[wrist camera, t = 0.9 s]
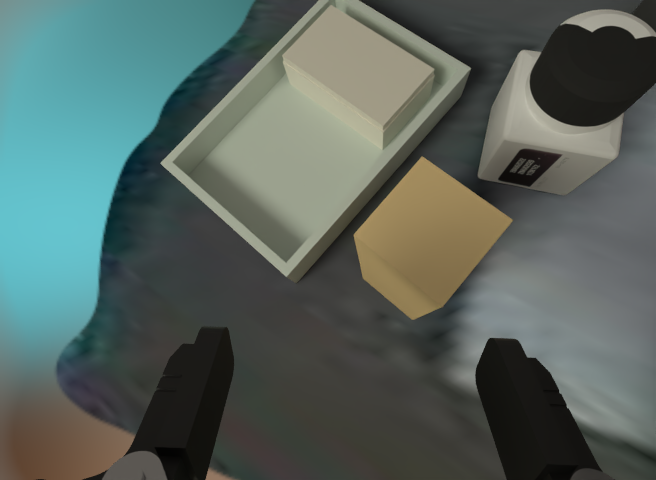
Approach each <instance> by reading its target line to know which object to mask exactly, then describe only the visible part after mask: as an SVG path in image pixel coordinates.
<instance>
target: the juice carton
mask: <svg viewBox="0 0 656 480" xmlns="http://www.w3.org/2000/svg"><path fill="white" fill-rule="evenodd" d="M512 221H513V220H512V219H511V218H509V217H508V216H507V215H505V214H504V213H502V212H501V211H499V210H498V209H497V208H495V207H494V206H492V205H491V204H489V203H488V202H487V201H485V200H484V199H482V198H481V197H479V196H478V195H477V194H475V193H474V192H472V191H471V190H469V189H468V188H467V187H465V186H464V185H462V184H461V183H459V182H458V181H457V180H455V179H454V178H452V177H451V176H449V175H448V174H447V173H445V172H444V171H442V170H441V169H439V168H438V167H437V166H435V165H434V164H432V163H431V162H429V161H428V160H427V159H425V158H424V157H421V158H420V159H419V161H418V162H417V163H416V164H415V165H414V166H413V167H412V169H411V170H410V171H409V172H408V173H407V174H406V175H405V177H404V178H403V179H402V180H401V181H400V182H399V183H398V185H397V186H396V187H395V188H394V189H393V190H392V191H391V193H390V194H389V195H388V196H387V197H386V198H385V199H384V201H383V202H382V203H381V204H380V205H379V206H378V207H377V209H376V210H375V211H374V212H373V213H372V214H371V215H370V217H369V218H368V219H367V220H366V221H365V222H364V223H363V225H362V226H361V227H360V228H359V229H358V230H357V231H356V233H355V234H354V238H355V243H356V248H357V252H358V257H359V262H360V266H361V271H362V276H363V279H364V280H366V281H367V282H368V283H369V284H370V285H372V286H373V287H374V288H375V289H376V290H377V291H379V292H380V293H381V294H382V295H383V296H385V297H386V298H387V299H388V300H389V301H391V302H392V303H393V304H394V305H395V306H396V307H398V308H399V309H400V310H401V311H402V312H404V313H405V314H406V315H407V316H408V317H410V318H411V319H412V320H414V319H416V318H418V317H421V316H423V315H425V314H427V313H430V312H432V311H434V310H436V309H439V308H441V307H443V306H444V304H445V303H446V302H447V301H448V299H449V298H450V297H451V296H452V295H453V293H454V292H455V291H456V290H457V288H458V287H459V286H460V285H461V284H462V282H463V281H464V280H465V279H466V277H467V276H468V275H469V274H470V273H471V271H472V270H473V269H474V268H475V266H476V265H477V264H478V263H479V262H480V260H481V259H482V258H483V257H484V255H485V254H486V253H487V252H488V251H489V249H490V248H491V247H492V246H493V244H494V243H495V242H496V241H497V240H498V238H499V237H500V236H501V235H502V233H503V232H504V231H505V230H506V229H507V227H508V226H509V225H510V224H511V222H512Z"/></svg>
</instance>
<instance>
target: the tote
mask: <svg viewBox="0 0 656 480" xmlns="http://www.w3.org/2000/svg"><path fill="white" fill-rule="evenodd" d="M330 5H332V6H334V7H335V8H337V9H339V10H340V11H342V12H344V13H345V14H347V15H348V16H350V17H352V18H353V19H355V20H356V21H358V22H360V23H361V24H363V25H364V26H366V27H368V28H369V29H371V30H372V31H374V32H376V33H377V34H379V35H381V36H382V37H384V38H385V39H387V40H389V41H390V42H392V43H393V44H395V45H397V46H398V47H400V48H401V49H403V50H405V51H406V52H408V53H410V54H411V55H413V56H414V57H416V58H418V59H419V60H421V61H422V62H424V63H426V64H427V65H429V66H430V67H432V68H434V73H433V74H434V75H435V76H434V81H433V85H432V89H431V94H430V98H429V99H428V100H427V101H426V102H425V103H424V104H423V105H422V107H421V108H420V109H419V110H418V111H417V112H416V113H415V114H414V116H413V117H412V118H411V119H410V120H409V121H408V122H407V123H406V125H405V126H404V127H403V128H402V129H401V130H400V131H399V132H398V133H397V135H396V136H395V137H394V138H393V139H392V140H391V141H390V142H389V144H388V145H387V146H386V147H385V148H384V149H383V150H381V149H380V148H379V147H377V146H376V145H374V144H373V143H372V142H370V141H369V140H367V139H366V138H365V137H363V136H362V135H360V134H359V133H358V132H356V131H355V130H354V129H352V128H351V127H349V126H348V125H347V124H345V123H344V122H342V121H341V120H340V119H338V118H337V117H335V116H334V115H333V114H331V113H330V112H328V111H327V110H326V109H324V108H323V107H322V106H320V105H319V104H317V103H316V102H315V101H313V100H312V99H310V98H309V97H308V96H306V95H305V94H303V93H302V92H301V91H299V90H298V89H296V88H295V87H294V86H292V85H291V84H290V82H289V79H288V76H287V73H286V71H285V68H284V65H283V61H284V60H283V57H282V55H283V54H284V53H285V52H286V51H287V50H288V49H289V48H290V47H291V46H292V45H293V44H294V43H295V42H296V41H297V39H298V38H299V37H300V36H301V35H302V34H303V33H304V32H305V31H306V30H307V29H308V28H309V27H310V26H311V25H312V24H313V23H314V22H315V21H316V20H317V19H318V18H319V17H320V16H321V15H322V14H323V13H324V12H325V11H326V9H327V8H328V7H329V6H330ZM470 70H471V68H470V67H468V66H467V65H465V64H463V63H462V62H460V61H458V60H457V59H455V58H453V57H452V56H450V55H448V54H447V53H445V52H443V51H442V50H440V49H439V48H437V47H435V46H434V45H432V44H430V43H429V42H427V41H425V40H424V39H422V38H420V37H419V36H417V35H415V34H414V33H412V32H410V31H409V30H407V29H405V28H404V27H402V26H400V25H399V24H397V23H395V22H394V21H392V20H390V19H389V18H387V17H385V16H384V15H382V14H380V13H379V12H377V11H375V10H374V9H372V8H370V7H369V6H367V5H366V4H364V3H362V2H361V1H359V0H319V1H318V2H317V3H316V4H315V5H314V6H313V7H312V8H311V9H310V10H309V11H308V12H307V13H306V14H305V15H304V16H303V17H302V18H301V19H300V20H299V21H298V22H297V24H296V25H295V26H294V27H293V28H292V29H291V30H290V31H289V32H288V33H287V34H286V35H285V36H284V37H283V38H282V39H281V40H280V41H279V42H278V43H277V44H276V45H275V46H274V47H273V48H272V49H271V50H270V51H269V52H268V53H267V54H266V55H265V56H264V57H263V58H262V59H261V60H260V62H259V63H258V64H257V65H256V66H255V67H254V68H253V69H252V70H251V71H250V72H249V73H248V74H247V75H246V76H245V77H244V78H243V79H242V80H241V81H240V82H239V83H238V84H237V85H236V86H235V87H234V88H233V89H232V90H231V91H230V92H229V93H228V94H227V95H226V96H225V97H224V98H223V100H222V101H221V102H220V103H219V104H218V105H217V106H216V107H215V108H214V109H213V110H212V111H211V112H210V113H209V114H208V115H207V116H206V117H205V118H204V119H203V120H202V121H201V122H200V123H199V124H198V125H197V126H196V127H195V128H194V129H193V130H192V131H191V132H190V133H189V134H188V135H187V136H186V138H185V139H184V140H183V141H182V142H181V143H180V144H179V145H178V146H177V147H176V148H175V149H174V150H173V151H172V152H171V153H170V154H169V155H168V156H167V157H166V158H165V159H164V160H163V161H162V162H161V163H160V164H162V165H163V166H164V167H165V168H166V169H167V170H168V171H169V172H170V173H172V174H173V175H174V176H175V177H176V178H177V179H178V180H179V181H180V182H182V183H183V184H184V185H185V186H186V187H187V188H188V189H189V190H190V191H192V192H193V193H194V194H195V195H196V196H197V197H198V198H199V199H200V200H202V201H203V202H204V203H205V204H206V205H207V206H208V207H209V208H210V209H212V210H213V211H214V212H215V213H216V214H217V215H218V216H219V217H220V218H222V219H223V220H224V221H225V222H226V223H227V224H228V225H229V226H230V227H232V228H233V229H234V230H235V231H236V232H237V233H238V234H239V235H240V236H242V237H243V238H244V239H245V240H246V241H247V242H248V243H249V244H250V245H252V246H253V247H254V248H255V249H256V250H257V251H258V252H259V253H260V254H262V255H263V256H264V257H265V258H266V259H267V260H268V261H269V262H270V263H272V264H273V265H274V266H275V267H276V268H277V269H278V270H279V271H281V272H282V273H283V274H284V275H285V276H286V277H287V278H289V279H290V280H292V281H293V282H295V283H296V284H297V282H298V281H299V280H300V279H301V278H302V277H303V276H304V274H305V273H306V272H307V271H308V270H309V269H310V268H311V266H312V265H313V264H314V263H315V262H316V261H317V260H318V259H319V257H320V256H321V255H322V254H323V253H324V252H325V251H326V249H327V248H328V247H329V246H330V245H331V244H332V243H333V241H334V240H335V239H336V238H337V237H338V236H339V235H340V234H341V232H342V231H343V230H344V229H345V228H346V227H347V226H348V224H349V223H350V222H351V221H352V220H353V219H354V218H355V216H356V215H357V214H358V213H359V212H360V211H361V210H362V208H363V207H364V206H365V205H366V204H367V203H368V202H369V201H370V199H371V198H372V197H373V196H374V195H375V194H376V193H377V191H378V190H379V189H380V188H381V187H382V186H383V185H384V183H385V182H386V181H387V180H388V179H389V178H390V177H391V176H392V174H393V173H394V172H395V171H396V170H397V169H398V168H399V166H400V165H401V164H402V163H403V162H404V161H405V160H406V158H407V157H408V156H409V155H410V154H411V153H412V152H413V150H414V149H415V148H416V147H417V146H418V145H419V144H420V143H421V141H422V140H423V139H424V138H425V137H426V136H427V135H428V133H429V132H430V131H431V130H432V129H433V128H434V127H435V125H436V124H437V123H438V122H439V121H440V120H441V119H442V118H443V116H444V115H445V114H446V113H447V112H448V111H449V110H450V108H451V107H452V106H453V105H454V104H455V103H456V102H457V100H458V99H459V98H460V97H461V95H462V93H463V90H464V87H465V84H466V81H467V79H468V76H469V73H470Z"/></svg>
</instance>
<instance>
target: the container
mask: <svg viewBox="0 0 656 480" xmlns="http://www.w3.org/2000/svg"><path fill="white" fill-rule="evenodd" d="M655 83H656V32H655V31H654V30H653V29H652V28H651V27H650V26H649V25H648V24H647V23H645V22H644V21H642V20H641V19H639V18H637V17H635V16H633V15H631V14H628V13H625V12H621V11H616V10H594V11H589V12H585V13H582V14H578V15H576V16H573V17H571V18H569V19H568V20H566V21H564V22H563V23H562V24H561V25H559V27H558V28H557V29H556V30H555V31H554V32H553V34H552V35H551V37H550V39H549V40H548V42H547V44H546V46H545V47H544V49H543V51H542V52H537V51H529V50H522V51H520V52H519V54H518V56H517V58H516V60H515V62H514V64H513V66H512V68H511V70H510V72H509V74H508V76H507V78H506V80H505V82H504V84H503V86H502V87H501V89H500V91H499V93H498V95H497V97H496V99H495V101H494V103H493V105H492V107H491V112H490V117H489V122H488V127H487V131H486V136H485V141H484V146H483V151H482V155H481V160H480V165H479V170H478V177H479V178H480V179H483V180H488V181H493V182H498V183H503V184H508V185H513V186H518V187H523V188H528V189H533V190H538V191H543V192H548V193H553V194H558V195H567V194H568V193H570V192H571V191H573V190H574V189H575V188H577V187H578V186H579V185H581V184H582V183H583V182H585V181H586V180H587V179H589V178H590V177H591V176H593V175H594V174H595V173H597V172H598V171H599V170H601V169H602V168H604V167H605V166H606V165H608V164H609V163H610V162H612V161H613V160H614V159H616V158H617V157H618V155H619V150H620V142H621V134H622V126H623V117H624V112H625V111H626V110H627V109H628V108H629V107H630V106H631V105H632V104H633V103H635V102H636V101H637V100H638V99H639V98H640V97H641V96H642V95H643V94H645V93H646V92H647V91H648V90H649V89H650V88H651V87H652V86H653V85H654V84H655Z"/></svg>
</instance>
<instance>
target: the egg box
mask: <svg viewBox="0 0 656 480" xmlns="http://www.w3.org/2000/svg"><path fill="white" fill-rule="evenodd" d="M282 57H283V60H284V61H283V65H284V68H285V71H286V73H287V76H288V79H289V82H290V84H291V85H292V86H294V87H295V88H296V89H298V90H299V91H301V92H302V93H303V94H305V95H306V96H308V97H309V98H310V99H312V100H313V101H315V102H316V103H317V104H319V105H320V106H322V107H323V108H324V109H326V110H327V111H328V112H330V113H331V114H333V115H334V116H335V117H337V118H338V119H340V120H341V121H342V122H344V123H345V124H347V125H348V126H349V127H351V128H352V129H354V130H355V131H356V132H358V133H359V134H360V135H362V136H363V137H365V138H366V139H367V140H369V141H370V142H372V143H373V144H374V145H376V146H377V147H379V148H380V149H381V150H383V149H384V148H385V147H386V146H387V145H388V144H389V142H390V141H391V140H392V139H393V138H394V137H395V136H396V135H397V133H398V132H399V131H400V130H401V129H402V128H403V127H404V126H405V125H406V123H407V122H408V121H409V120H410V119H411V118H412V117H413V116H414V114H415V113H416V112H417V111H418V110H419V109H420V108H421V107H422V105H423V104H424V103H425V102H426V101H427V100H428V99H429V98H430V94H431V89H432V85H433V81H434V76H435V75H434V74H433V73H434V68H432V67H430V66H429V65H427V64H426V63H424V62H422V61H421V60H419V59H418V58H416V57H414V56H413V55H411V54H410V53H408V52H406V51H405V50H403V49H401V48H400V47H398V46H397V45H395V44H393V43H392V42H390V41H389V40H387V39H385V38H384V37H382V36H381V35H379V34H377V33H376V32H374V31H372V30H371V29H369V28H368V27H366V26H364V25H363V24H361V23H360V22H358V21H356V20H355V19H353V18H352V17H350V16H348V15H347V14H345V13H344V12H342V11H340V10H339V9H337V8H335V7H334V6H332V5H330V6H329V7H328V8H327V9H326V11H325V12H324V13H323V14H322V15H321V16H320V17H319V18H318V19H317V20H316V21H315V22H314V23H313V24H312V25H311V26H310V27H309V28H308V29H307V30H306V31H305V32H304V33H303V34H302V35H301V36H300V37H299V38H298V39H297V41H296V42H295V43H294V44H293V45H292V46H291V47H290V48H289V49H288V50H287V51H286V52H285V53H284V54H283V55H282Z"/></svg>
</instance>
